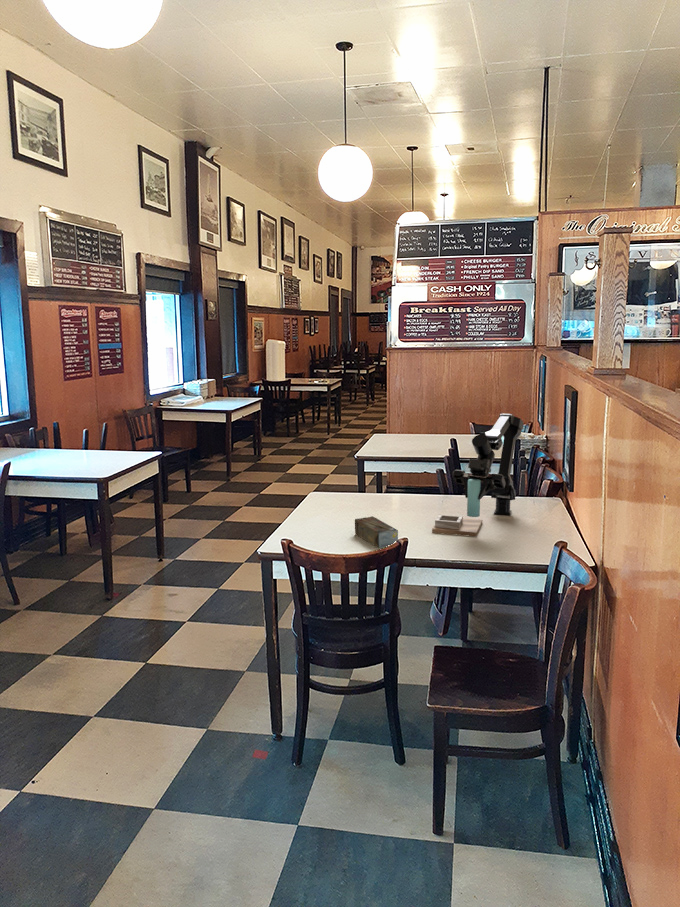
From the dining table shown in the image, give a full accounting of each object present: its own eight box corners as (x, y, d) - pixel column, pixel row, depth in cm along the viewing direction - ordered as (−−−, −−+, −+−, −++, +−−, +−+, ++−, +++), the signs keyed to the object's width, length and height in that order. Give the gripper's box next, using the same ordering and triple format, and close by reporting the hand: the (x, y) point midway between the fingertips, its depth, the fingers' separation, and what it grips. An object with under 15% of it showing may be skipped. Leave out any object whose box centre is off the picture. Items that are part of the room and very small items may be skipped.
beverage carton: (378, 549, 237) (378, 530, 235) (353, 535, 254) (353, 517, 253) (398, 546, 240) (398, 527, 239) (373, 532, 257) (373, 514, 256)
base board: (440, 520, 272) (440, 510, 271) (482, 523, 267) (482, 513, 266) (432, 532, 255) (432, 522, 254) (476, 536, 250) (476, 525, 249)
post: (474, 513, 256) (475, 478, 253) (482, 515, 252) (483, 480, 249) (464, 514, 253) (465, 479, 251) (472, 517, 250) (473, 482, 247)
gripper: (454, 448, 257) (442, 483, 249) (504, 452, 247) (492, 489, 240) (462, 465, 265) (450, 499, 257) (510, 470, 255) (499, 506, 248)
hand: (472, 498), depth 250 cm, fingers closed on post, 4 cm apart
